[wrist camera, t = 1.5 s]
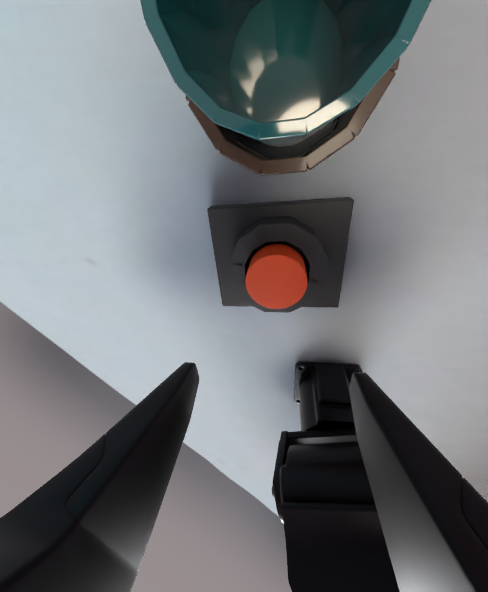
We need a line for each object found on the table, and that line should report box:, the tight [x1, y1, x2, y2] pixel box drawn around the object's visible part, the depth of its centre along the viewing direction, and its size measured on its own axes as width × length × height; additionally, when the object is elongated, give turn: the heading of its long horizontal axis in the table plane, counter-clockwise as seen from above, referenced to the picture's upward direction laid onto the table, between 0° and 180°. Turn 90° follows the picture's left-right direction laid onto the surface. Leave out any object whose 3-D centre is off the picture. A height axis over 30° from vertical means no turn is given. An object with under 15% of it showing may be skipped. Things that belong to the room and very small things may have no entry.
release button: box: [245, 244, 307, 309], centre depth 16 cm, size 4×4×2 cm
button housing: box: [208, 197, 354, 312], centre depth 18 cm, size 10×8×3 cm
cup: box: [140, 0, 431, 147], centre depth 9 cm, size 7×7×10 cm
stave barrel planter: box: [186, 57, 400, 175], centre depth 12 cm, size 9×9×4 cm
